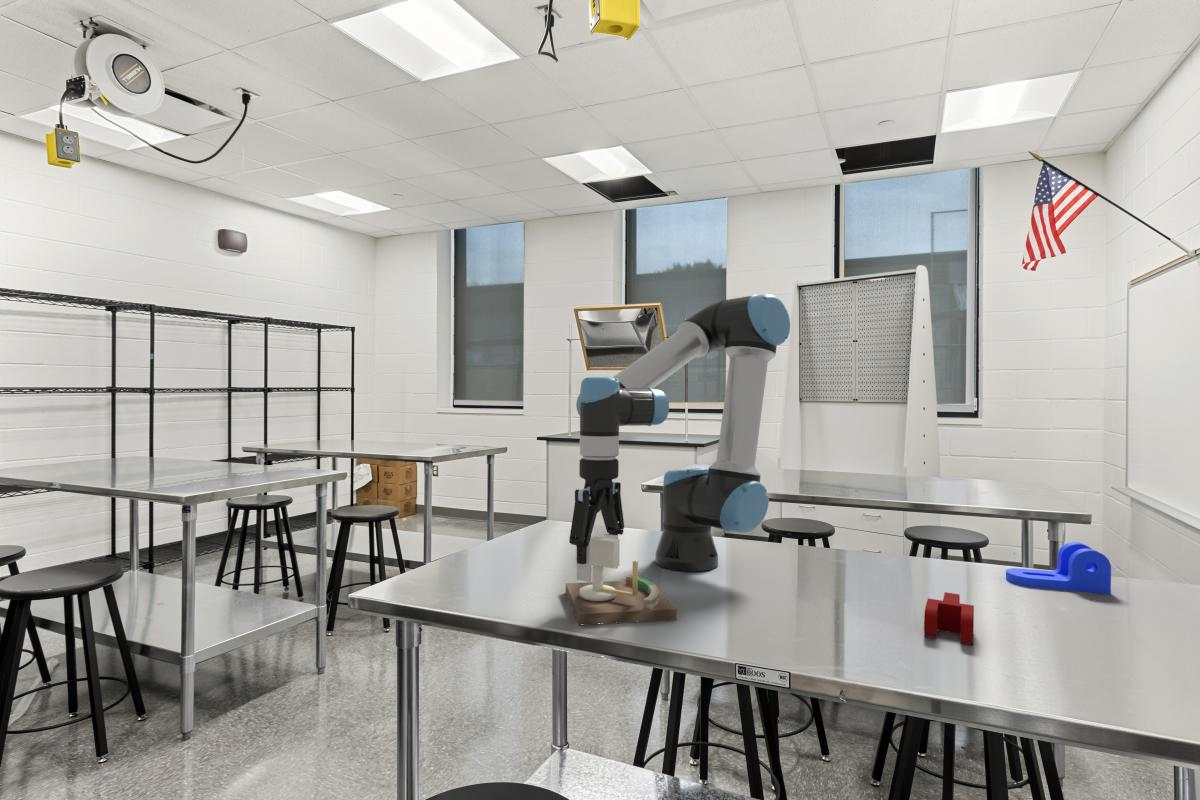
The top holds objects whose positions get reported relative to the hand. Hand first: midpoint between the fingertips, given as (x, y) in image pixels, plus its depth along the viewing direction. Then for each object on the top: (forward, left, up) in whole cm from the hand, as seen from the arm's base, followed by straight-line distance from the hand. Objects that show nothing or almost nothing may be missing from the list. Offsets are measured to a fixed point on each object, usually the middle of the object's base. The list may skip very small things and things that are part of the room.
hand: (597, 573), depth 122 cm
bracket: (-102, 0, -7) cm, 103 cm away
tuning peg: (-2, +1, -4) cm, 5 cm away
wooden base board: (-4, 0, -6) cm, 8 cm away
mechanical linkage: (-60, +21, -7) cm, 64 cm away
